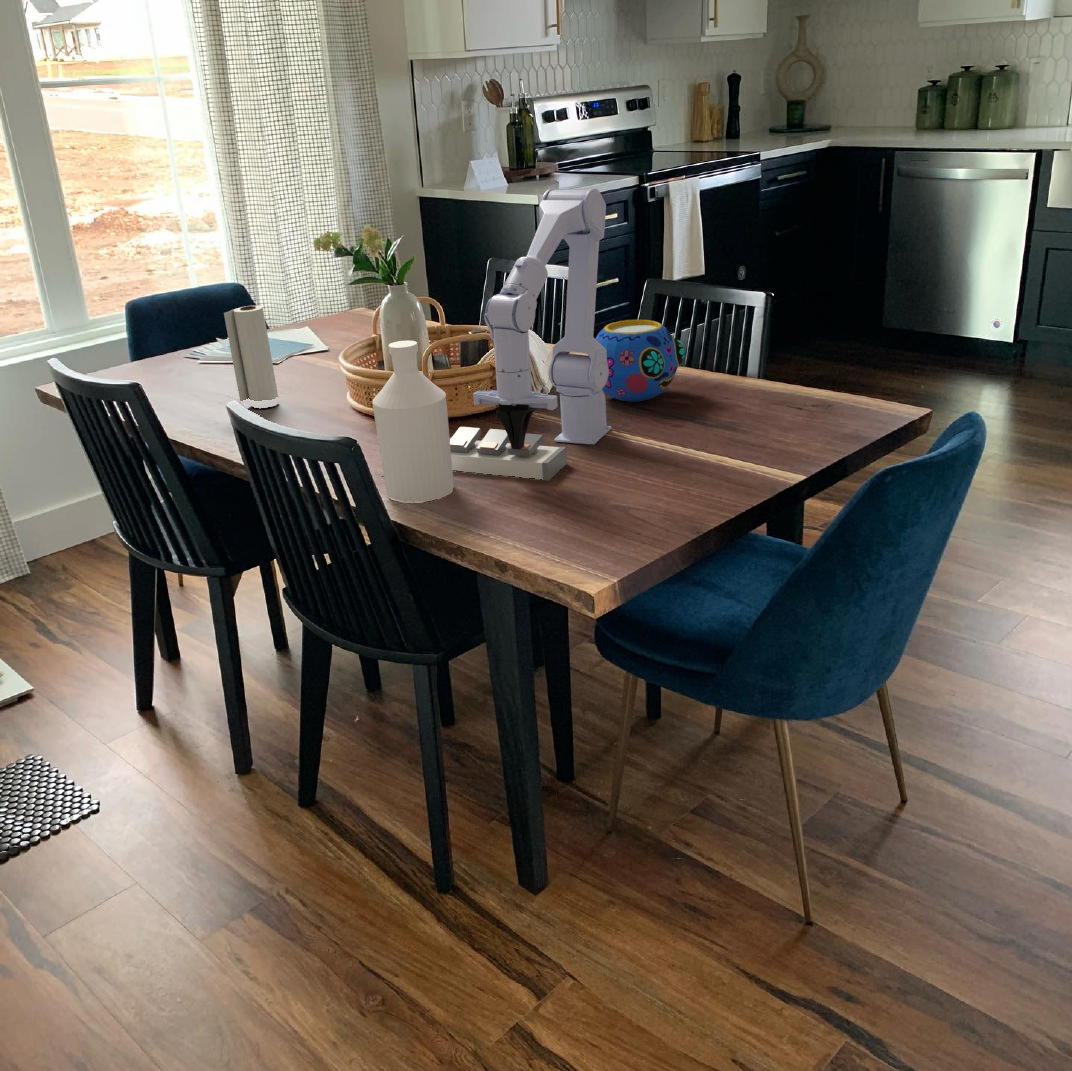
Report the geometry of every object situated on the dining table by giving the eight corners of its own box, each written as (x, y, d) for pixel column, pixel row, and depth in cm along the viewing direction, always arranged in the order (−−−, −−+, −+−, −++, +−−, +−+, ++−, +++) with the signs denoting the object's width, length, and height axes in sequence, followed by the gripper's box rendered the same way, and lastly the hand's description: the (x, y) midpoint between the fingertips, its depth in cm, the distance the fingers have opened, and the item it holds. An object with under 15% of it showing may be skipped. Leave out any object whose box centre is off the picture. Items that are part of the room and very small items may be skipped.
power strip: (421, 450, 198) (418, 432, 196) (566, 463, 186) (565, 444, 185) (398, 466, 191) (396, 447, 189) (548, 480, 179) (547, 460, 178)
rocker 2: (491, 434, 189) (490, 427, 188) (512, 436, 187) (510, 429, 186) (477, 453, 185) (476, 447, 184) (498, 455, 183) (497, 448, 182)
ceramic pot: (650, 416, 207) (648, 340, 201) (575, 404, 217) (571, 331, 211) (695, 392, 220) (694, 319, 213) (622, 382, 230) (619, 313, 224)
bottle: (370, 493, 179) (350, 347, 169) (425, 473, 187) (408, 331, 177) (414, 510, 171) (396, 357, 161) (470, 487, 179) (455, 340, 169)
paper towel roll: (283, 401, 234) (266, 303, 225) (274, 409, 229) (257, 310, 220) (251, 402, 235) (233, 305, 226) (241, 410, 229) (223, 311, 221)
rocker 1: (461, 432, 191) (459, 425, 190) (481, 433, 189) (479, 427, 189) (447, 451, 187) (445, 444, 186) (467, 453, 185) (465, 446, 184)
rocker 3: (522, 439, 186) (521, 432, 186) (543, 441, 185) (542, 433, 184) (508, 454, 182) (507, 447, 181) (529, 456, 180) (528, 449, 180)
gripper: (462, 372, 175) (468, 451, 180) (543, 376, 169) (547, 458, 174) (481, 362, 181) (487, 438, 186) (560, 366, 175) (564, 445, 180)
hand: (517, 447), depth 180 cm, fingers closed, pressing on rocker 3
